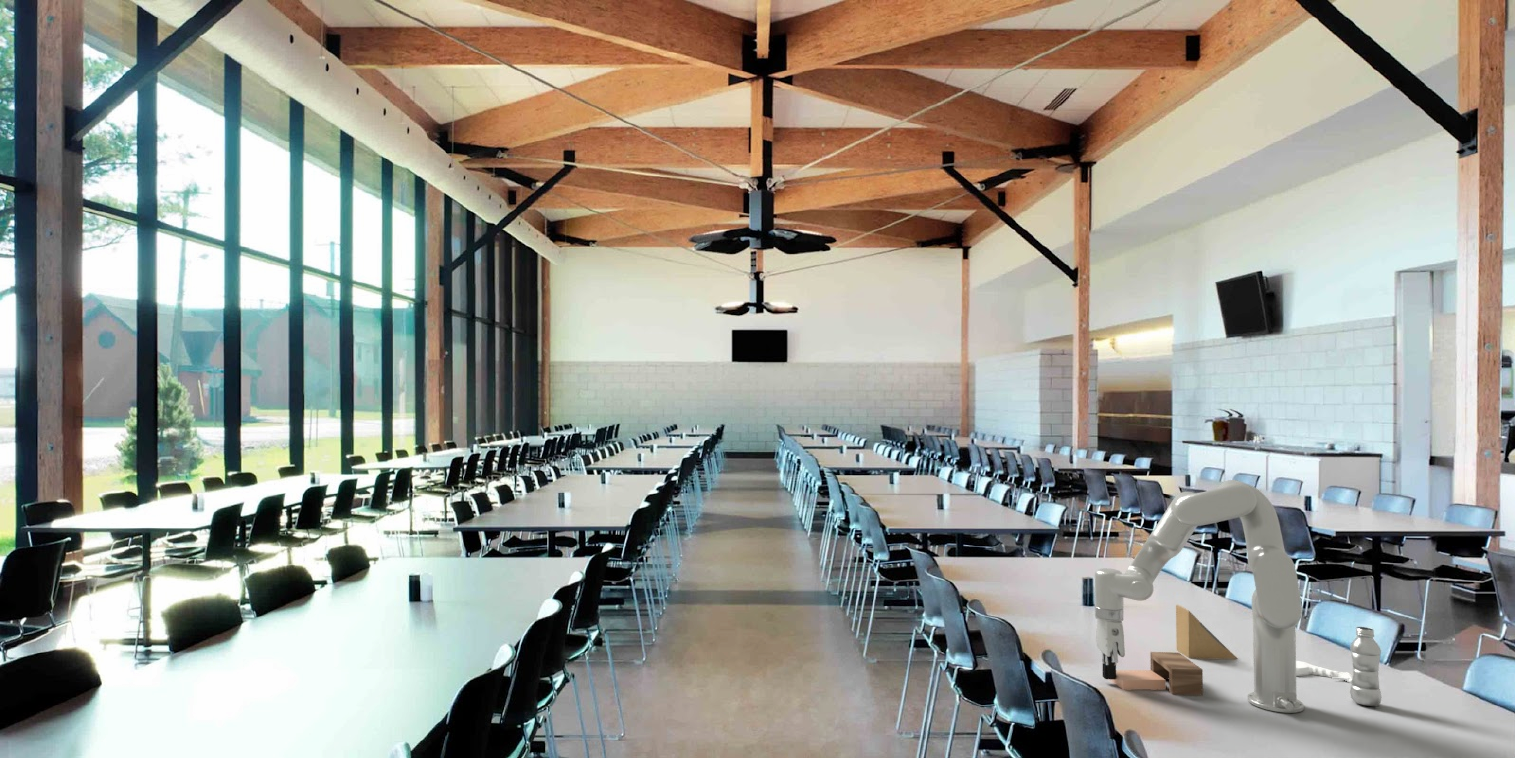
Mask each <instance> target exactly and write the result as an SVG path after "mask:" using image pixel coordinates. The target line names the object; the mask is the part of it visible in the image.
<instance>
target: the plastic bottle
mask: <svg viewBox="0 0 1515 758" xmlns="http://www.w3.org/2000/svg"><path fill="white" fill-rule="evenodd" d="M1355 629H1356V630H1355V631H1356V632H1355V635H1356V638H1354V640H1352V642H1350V646H1349V647H1350V654H1351V660H1352V675H1353V678H1352V684H1351V685H1350V691H1349V693H1350V698H1351V700H1352V701H1353V702H1354V703H1356V704H1359V705H1362V706H1368V707H1377V706H1379V705H1380V704H1381V701H1382V693H1381V692H1382V691H1381V689H1380V681H1379V679H1380V678H1379V669H1380V660H1381V654H1382V650H1381V647H1380V646H1379V644H1378V642H1376V640H1375V639H1374V638H1375V631H1374V628H1371V627H1367V626H1356V628H1355Z"/></svg>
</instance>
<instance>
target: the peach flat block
mask: <svg viewBox="0 0 1515 758" xmlns="http://www.w3.org/2000/svg"><path fill="white" fill-rule="evenodd" d="M1109 680H1110V681H1111V682H1112V683H1113V684H1115V685H1117V686H1118V688H1120V689H1121V690H1123V691H1125V690H1126V691H1129V690H1131V689H1151V690H1155V691H1156V690H1157V689H1158V690H1167V689H1166V687H1167V686H1166V684H1167V683H1166V681H1167V679H1164V678H1162V677H1161V676H1159V675H1158V674H1156V673H1155V672H1153V671H1152V670H1151V669H1148V670H1146V669H1145V670H1144V669H1141V670H1137V669H1136V670H1134V669H1133V670H1127V669H1126V670H1123V669H1122V670H1119V669H1116V679H1109ZM1151 690H1150V691H1151ZM1131 691H1132V690H1131Z"/></svg>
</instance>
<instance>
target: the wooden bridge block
mask: <svg viewBox="0 0 1515 758" xmlns="http://www.w3.org/2000/svg"><path fill="white" fill-rule="evenodd" d="M1150 670H1152V671H1153V672H1155V673H1156V674H1158V675H1159V676H1161V677H1162V678H1169V679H1168V680H1169V681H1168V683H1169V685H1168V686H1169V689H1168V690H1169V693H1170V694H1171V695H1175V696H1177V695H1179V696H1181V695H1182V696H1203V695H1204V686H1203V683H1204V681H1203V679H1204V675H1203V669H1202V668H1201V667H1200V666H1198V665H1197V664H1196V663H1194V662H1193V661H1191V659H1189V658H1188V657H1186V656H1185V655H1183V654H1182V653H1180V652H1170V651H1169V652H1167V651H1166V652H1163V651H1162V652H1161V651H1150Z"/></svg>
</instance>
